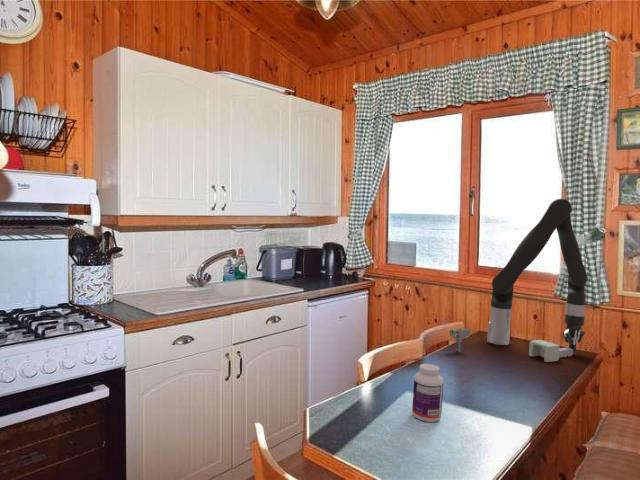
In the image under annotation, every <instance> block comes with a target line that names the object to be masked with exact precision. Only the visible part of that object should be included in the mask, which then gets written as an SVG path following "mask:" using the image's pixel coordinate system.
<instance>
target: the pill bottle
mask: <svg viewBox="0 0 640 480" xmlns="http://www.w3.org/2000/svg"><path fill="white" fill-rule="evenodd" d="M440 370H441V368H440V366H438V365H435V364H432V363H421V364H420V365H419V371H418V372H417V373H415V374H414V378H413V394H412V404H411V405H412V408H411V413H412V415H413V417H414V418H415V419H417V420H420V421H423V422H427V423H435V422H437V421H440V419H441V418H442V409H443V397H444V395H443V394H444V393H443V392H444V378H443V377H442V375H440V373H441V372H440Z"/></svg>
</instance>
